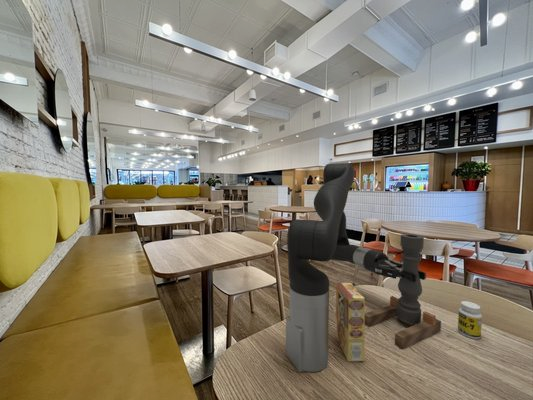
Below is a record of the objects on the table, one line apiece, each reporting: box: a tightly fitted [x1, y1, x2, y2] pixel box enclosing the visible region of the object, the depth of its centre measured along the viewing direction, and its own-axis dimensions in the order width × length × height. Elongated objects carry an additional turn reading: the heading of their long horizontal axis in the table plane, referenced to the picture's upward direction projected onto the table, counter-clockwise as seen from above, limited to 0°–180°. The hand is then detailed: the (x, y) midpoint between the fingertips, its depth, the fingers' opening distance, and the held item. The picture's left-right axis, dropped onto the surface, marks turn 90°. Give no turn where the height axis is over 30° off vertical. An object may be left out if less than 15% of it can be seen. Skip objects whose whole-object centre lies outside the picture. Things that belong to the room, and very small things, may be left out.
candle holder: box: [396, 233, 425, 325], centre depth 66 cm, size 6×6×25 cm
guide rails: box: [365, 295, 442, 350], centre depth 64 cm, size 17×13×6 cm
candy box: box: [335, 282, 366, 362], centre depth 55 cm, size 9×4×15 cm, turn 1°
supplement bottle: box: [457, 300, 483, 340], centre depth 61 cm, size 5×5×8 cm
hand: (420, 277), depth 63 cm, fingers closed on candle holder, 3 cm apart
